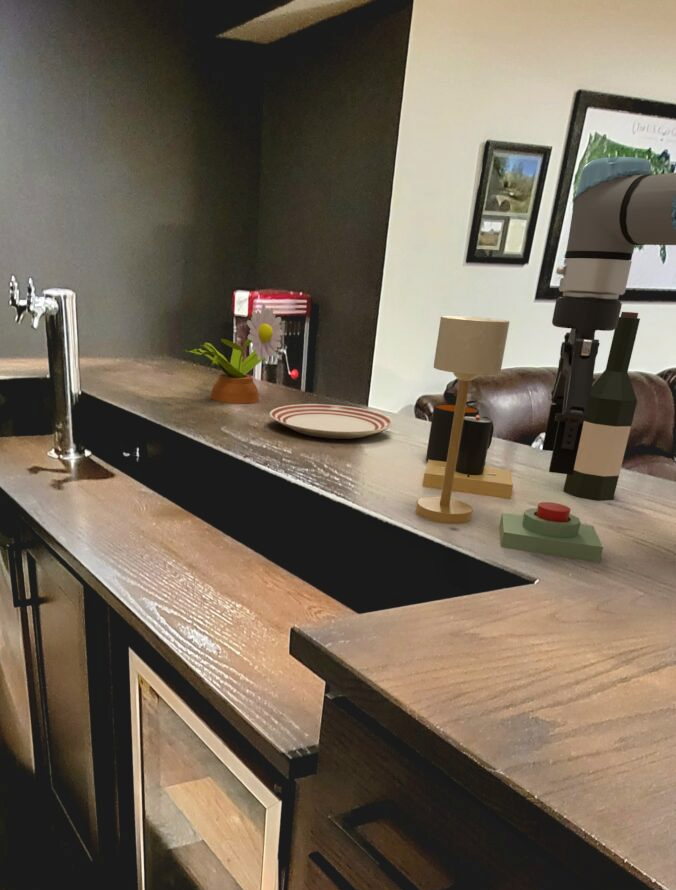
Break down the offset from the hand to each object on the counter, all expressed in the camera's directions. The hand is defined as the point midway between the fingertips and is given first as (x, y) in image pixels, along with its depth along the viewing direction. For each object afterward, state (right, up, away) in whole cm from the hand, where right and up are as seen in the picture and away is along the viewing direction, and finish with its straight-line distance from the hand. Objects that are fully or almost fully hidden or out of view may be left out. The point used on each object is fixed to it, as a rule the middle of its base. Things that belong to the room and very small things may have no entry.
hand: (556, 461), depth 97 cm
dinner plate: (-21, +12, +65) cm, 69 cm away
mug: (+1, +3, +43) cm, 43 cm away
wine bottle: (+18, -4, +27) cm, 33 cm away
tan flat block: (-3, -2, +27) cm, 28 cm away
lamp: (-12, -7, +11) cm, 18 cm away
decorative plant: (-42, +24, +97) cm, 109 cm away
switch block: (-1, -11, +2) cm, 11 cm away
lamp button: (0, -8, 0) cm, 8 cm away
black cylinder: (-3, 0, +26) cm, 27 cm away
